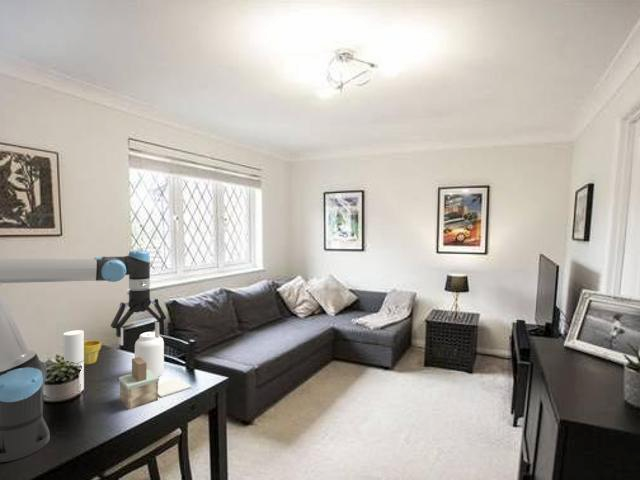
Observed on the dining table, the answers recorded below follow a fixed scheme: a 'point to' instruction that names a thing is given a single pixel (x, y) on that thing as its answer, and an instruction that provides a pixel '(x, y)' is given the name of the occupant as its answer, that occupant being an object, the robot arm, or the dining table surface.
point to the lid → (138, 375)
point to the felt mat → (172, 387)
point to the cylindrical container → (74, 350)
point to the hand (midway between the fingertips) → (139, 340)
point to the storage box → (139, 395)
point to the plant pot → (91, 351)
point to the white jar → (151, 352)
